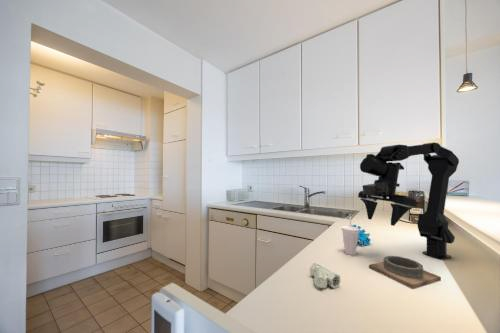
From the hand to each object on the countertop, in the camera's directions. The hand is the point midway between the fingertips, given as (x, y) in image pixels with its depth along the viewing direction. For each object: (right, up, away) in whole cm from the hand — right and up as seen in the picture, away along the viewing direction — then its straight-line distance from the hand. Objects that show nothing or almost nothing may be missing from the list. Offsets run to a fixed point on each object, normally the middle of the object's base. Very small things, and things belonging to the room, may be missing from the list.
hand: (380, 222), depth 72 cm
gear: (+3, -15, +19) cm, 24 cm away
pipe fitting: (-26, -13, -15) cm, 33 cm away
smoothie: (-7, -14, +7) cm, 17 cm away
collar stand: (+1, -14, -9) cm, 16 cm away
